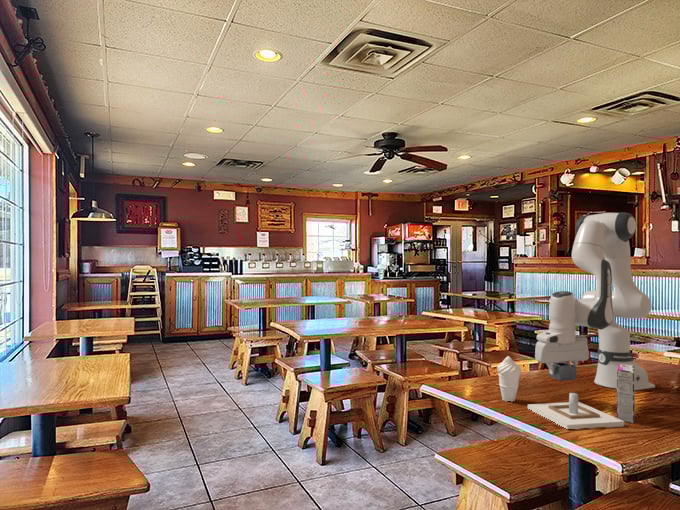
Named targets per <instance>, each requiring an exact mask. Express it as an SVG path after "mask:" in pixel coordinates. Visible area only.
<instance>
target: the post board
mask: <svg viewBox="0 0 680 510" xmlns="http://www.w3.org/2000/svg"><path fill="white" fill-rule="evenodd" d="M568 396H569V397H568V402H547V403H534V404H533V403H531V404H527V409H528V410H529V409H530V410H529V411H531V410H532V411H531V412H533V413H534V412H535V414H536V413H537V414H536V415H538V414H539V415H538V416H540V415H541V416H540V417H542V416H543V417H542V418H544V417H545V418H544V419H546V418H547V419H546V420H548V419H549V420H551V421H553V422H555V423H556V424H555V423H554V424H555V425H557V424H558V425H557V426H559V425H560V426H559V427H561V426H562V427H564V428H566V429H575V430H581V429H580V428H590V429H596V428H595V427H605V428H617V427H625V422H624V421H622V420H620V419H617V417H616V416H613V415H611V414H608V413H606V412H604V411H600V410H598V409H596V408H594V407H592V406H590V405H587V404H585V403H583V402H581V401H579V394H578V393H576V392H569V395H568ZM549 420H548V421H549ZM551 421H550V422H551ZM553 422H552V423H553ZM562 427H561V428H562ZM564 428H563V429H564ZM566 429H565V430H566Z"/></svg>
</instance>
